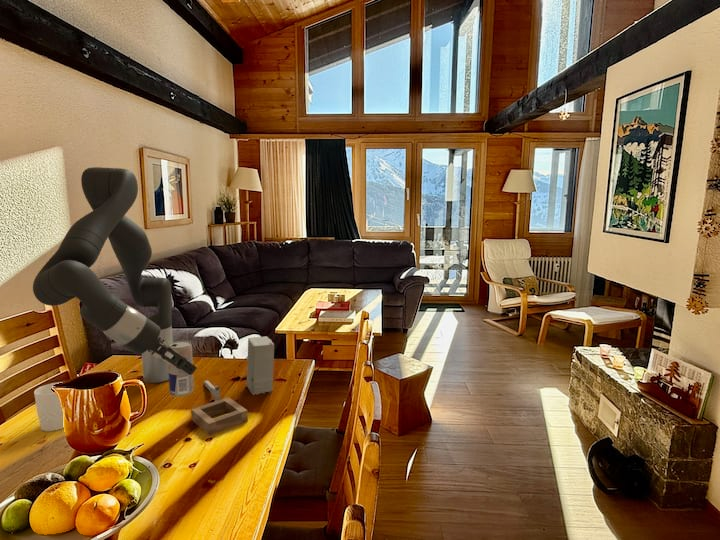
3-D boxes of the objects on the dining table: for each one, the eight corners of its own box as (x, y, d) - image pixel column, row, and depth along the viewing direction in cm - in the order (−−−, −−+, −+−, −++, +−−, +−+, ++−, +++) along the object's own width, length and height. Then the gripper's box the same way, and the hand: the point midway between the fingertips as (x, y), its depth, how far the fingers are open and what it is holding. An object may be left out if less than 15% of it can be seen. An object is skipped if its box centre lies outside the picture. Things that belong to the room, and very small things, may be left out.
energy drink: (174, 387, 104) (172, 340, 102) (196, 387, 105) (194, 340, 103) (166, 397, 99) (163, 348, 97) (189, 396, 99) (187, 347, 98)
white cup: (30, 429, 106) (26, 391, 105) (61, 415, 114) (58, 379, 112) (51, 435, 104) (48, 397, 102) (82, 420, 111) (79, 384, 110)
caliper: (221, 409, 119) (220, 388, 118) (217, 410, 118) (216, 388, 117) (207, 383, 136) (206, 364, 136) (203, 383, 136) (203, 365, 135)
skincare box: (246, 385, 134) (244, 337, 132) (268, 381, 137) (267, 334, 135) (252, 396, 127) (251, 345, 124) (275, 392, 130) (275, 342, 128)
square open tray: (191, 419, 112) (191, 409, 112) (228, 407, 120) (228, 397, 119) (209, 435, 105) (209, 424, 104) (247, 420, 112) (247, 410, 112)
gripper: (155, 322, 89) (212, 362, 99) (133, 309, 99) (187, 347, 109) (129, 352, 86) (190, 390, 96) (109, 335, 96) (166, 372, 106)
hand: (188, 367), depth 102 cm, fingers closed on energy drink, 5 cm apart
